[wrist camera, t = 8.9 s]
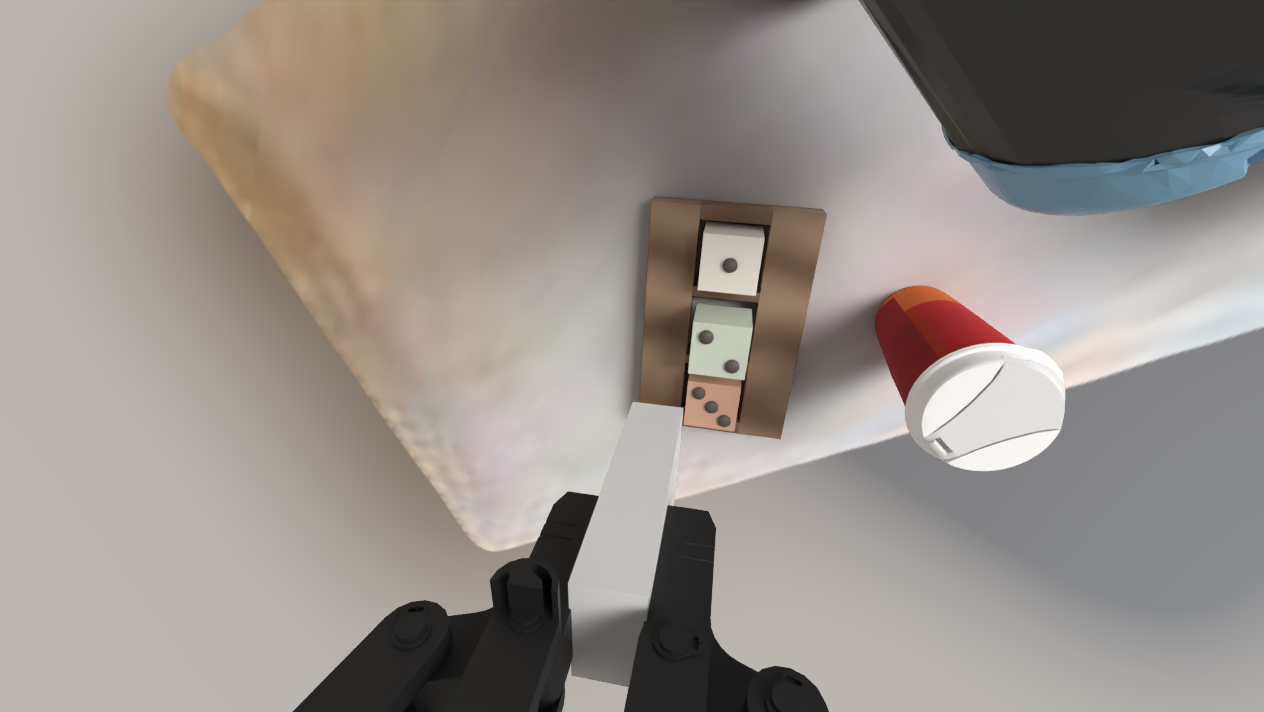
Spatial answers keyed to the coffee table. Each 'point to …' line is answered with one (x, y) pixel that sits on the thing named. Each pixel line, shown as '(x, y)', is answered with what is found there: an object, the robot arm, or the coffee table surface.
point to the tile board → (776, 298)
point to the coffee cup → (968, 382)
